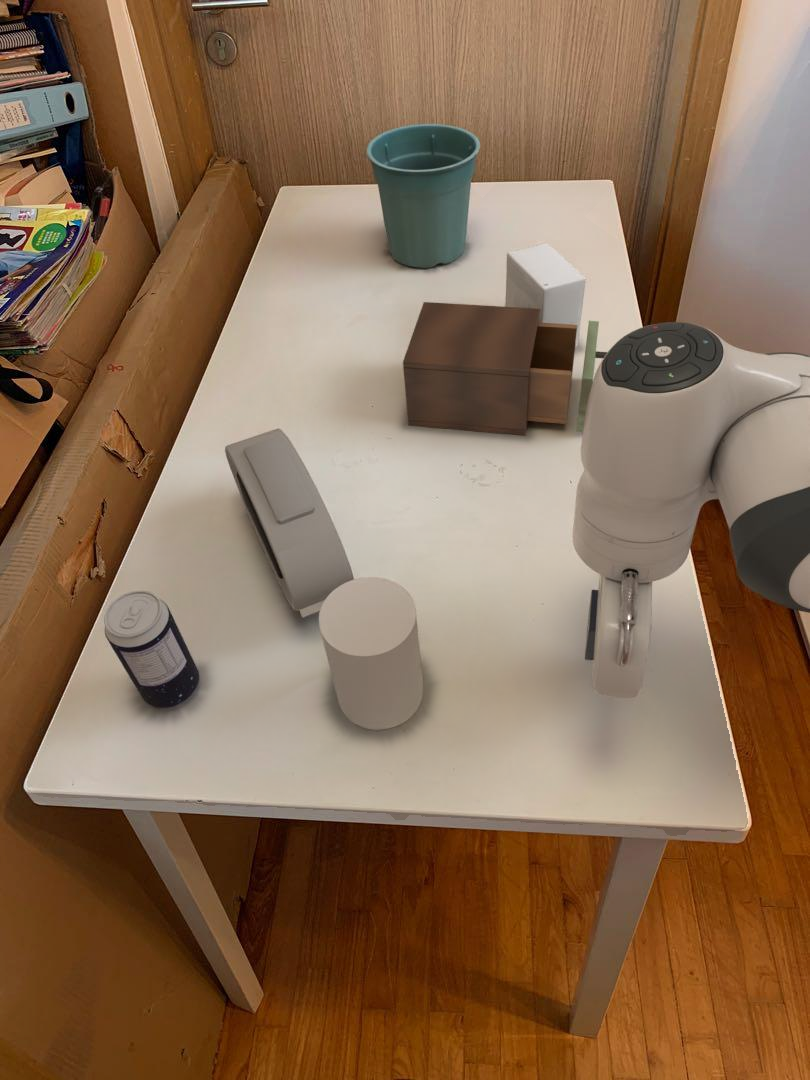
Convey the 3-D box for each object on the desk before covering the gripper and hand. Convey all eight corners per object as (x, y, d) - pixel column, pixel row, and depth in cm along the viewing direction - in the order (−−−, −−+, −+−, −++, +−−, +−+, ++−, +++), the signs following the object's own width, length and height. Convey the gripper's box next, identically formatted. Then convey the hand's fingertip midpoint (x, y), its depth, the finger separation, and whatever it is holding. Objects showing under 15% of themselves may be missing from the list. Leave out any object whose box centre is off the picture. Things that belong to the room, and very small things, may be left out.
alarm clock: (238, 497, 96) (212, 412, 86) (288, 479, 97) (267, 394, 88) (304, 644, 81) (281, 562, 72) (362, 621, 83) (346, 537, 73)
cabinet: (536, 372, 107) (540, 308, 100) (525, 435, 99) (528, 371, 92) (427, 364, 110) (423, 301, 103) (408, 425, 102) (402, 361, 95)
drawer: (631, 376, 104) (640, 323, 98) (628, 435, 97) (638, 382, 91) (487, 366, 108) (488, 314, 102) (474, 422, 100) (473, 370, 94)
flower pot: (444, 213, 138) (440, 113, 126) (500, 254, 128) (502, 149, 116) (358, 244, 133) (346, 142, 121) (409, 288, 123) (402, 182, 111)
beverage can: (210, 667, 80) (176, 591, 71) (187, 717, 77) (148, 645, 68) (157, 658, 81) (117, 582, 72) (132, 707, 78) (87, 634, 69)
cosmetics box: (580, 347, 110) (588, 277, 103) (537, 360, 109) (542, 290, 101) (543, 308, 117) (548, 240, 109) (503, 320, 116) (504, 252, 108)
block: (638, 625, 75) (644, 594, 71) (636, 666, 72) (643, 636, 68) (587, 619, 75) (591, 589, 72) (584, 660, 73) (588, 630, 69)
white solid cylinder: (441, 686, 77) (436, 610, 68) (381, 746, 73) (367, 674, 64) (379, 640, 81) (367, 562, 72) (319, 694, 77) (298, 619, 68)
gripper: (677, 642, 55) (649, 742, 65) (675, 440, 68) (652, 549, 78) (581, 631, 56) (568, 730, 66) (597, 435, 69) (584, 543, 79)
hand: (613, 631), depth 72 cm, fingers closed on block, 4 cm apart
